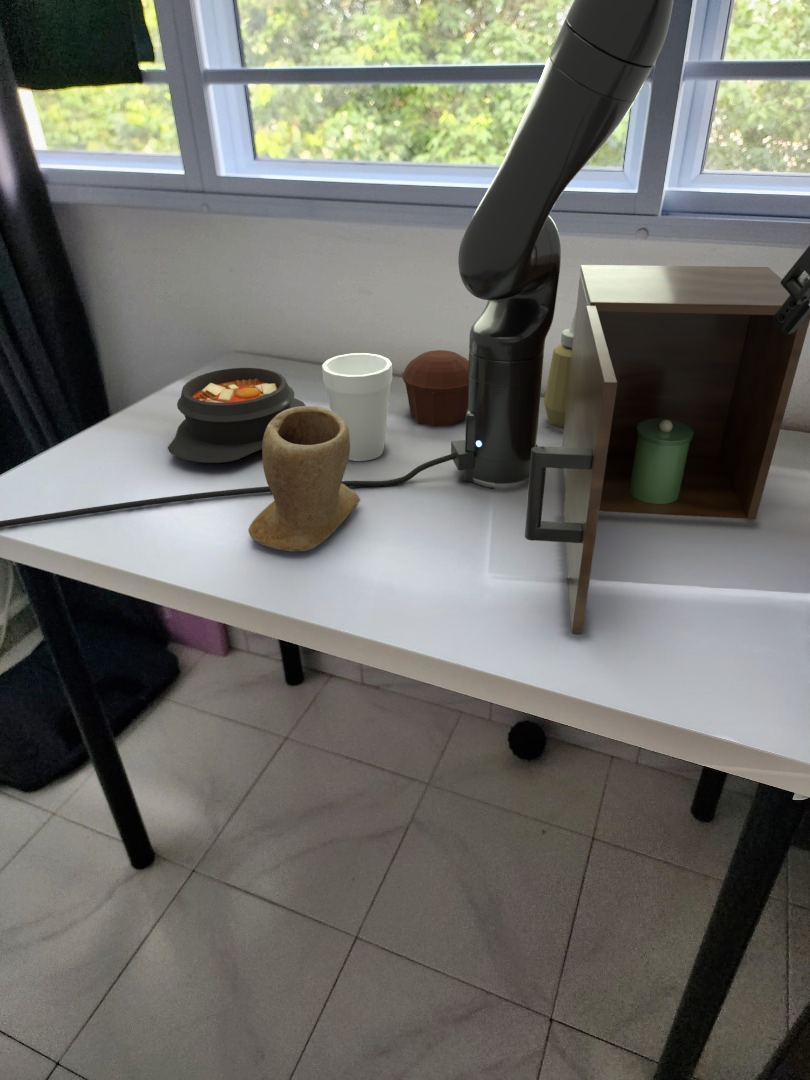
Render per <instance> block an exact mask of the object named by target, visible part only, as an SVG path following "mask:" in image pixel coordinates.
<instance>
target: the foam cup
mask: <svg viewBox="0 0 810 1080" xmlns="http://www.w3.org/2000/svg"><path fill="white" fill-rule="evenodd" d="M321 369H322V382H323V385H324V387H325V389H326V390H325V391H326V394H327V398H328V403H329V409H330V410H331V411H333V412H335V413H336V414H338V415H339V416H340V417H342V419H343V420H344V421H345V422H346V424H347V427H348V429H349V437H350V455H349V460H350V461H353V462H354V461H355V462H366V461H371V460H375V459H377V458H379V457H381V456H382V454H383V453H384V452H385V451H384V447H385V444H386V443H385V442H386V433H387V422H388V414H389V403H390V395H391V394H390V393H391V384H392V382H393V363H392V362H391V360H390V358H387V357H385V356H383V355H381V354H377V353H376V354H375V353H368V352H355V353H354V352H351V353H346V354H340V355H336V356H333V357H331V358H328V359H326V360H325V361H324V362H323V364H322V365H321ZM349 460H348V461H349Z"/></svg>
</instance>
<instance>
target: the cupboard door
mask: <svg viewBox="0 0 810 1080" xmlns="http://www.w3.org/2000/svg"><path fill="white" fill-rule="evenodd" d="M616 388H617V380H616V377H615V373H614V370H613V366H612V362H611V359H610V355H609V352H608V348H607V344H606V341H605V337H604V334H603V330H602V326H601V323H600V319H599V316H598V312H597V308H596V306H586V312H585V321H584V330H583V339H582V348H581V357H580V366H579V375H578V384H577V393H576V402H575V411H574V420H573V429H572V439H571V448H562V446H561V447H559V446H539V445H537V447H533V448H532V449H531V461H530V474H529V477H528V486H527V487H528V489H527V499H526V500H527V501H526V513H525V523H524V524H525V526H524V538H525V539H526V540H528V541H536V542H540V541H541V542H551V543H553V542H554V543H555V542H556V543H565V551H566V564H567V565H566V566H567V579H566V580H567V590H568V603H569V615H570V617H569V618H570V629H571V630H570V631H571V634H576V635H582V634H583V630H584V623H585V617H586V616H585V615H586V607H587V602H588V601H587V600H588V595H589V594H588V593H589V586H590V580H591V573H592V565H593V559H594V551H595V544H596V538H597V530H598V525H599V524H598V523H599V515H600V511H599V509H600V502H601V495H602V488H603V481H604V474H605V467H606V460H607V452H608V445H609V438H610V431H611V424H612V417H613V410H614V403H615V396H616ZM547 468H548V469H564V468H566V469H568V475H567V484H566V490H565V494H564V502H563V511H562V513H563V521H550V520H549V521H548V520H542V516H543V515H542V514H543V507H544V506H543V505H544V495H545V494H544V493H545V483H546V473H547Z"/></svg>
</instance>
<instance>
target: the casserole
mask: <svg viewBox="0 0 810 1080" xmlns="http://www.w3.org/2000/svg"><path fill="white" fill-rule="evenodd" d="M176 406H177V409H178V411H179V412H180V413H181V414H182V415H183V416H184V418H185V419H184V420H182V422H181V423H180V424H179V425H178V427H177V430H176V433H175V437H174V438H173V439H172V441H171V442H170V444H169V445H168V446H167V451H168V453H169V454H171V455H172V456H174V457H177V458H179V459H182V460H185V461H186V460H187V461H190V462H198V463H206V464H207V463H209V464H210V463H211V464H221V463H231V462H236V461H238V460H240V459H243V458H245V457H247V456H249V455H251V454H253V453H256V452H258V451H262V444H263V437H264V433H265V430H266V428H267V426H268V424H269V423H270V421H271V420H272V419H273V418H274V417H275V416H276V415H277V414H279V413H281V412H282V411H284V410H287V409H290V408H293V407H299V406H307V405H306V404H305V403H304V402H303V401H302V400H300V399H298V398H295V391H294V390H293V388H292V387H290V385H289V384H288V382H287V380H286V378H285V377H284V376H283V375H282V374H280V373H279V372H277V371H273V370H271V369H265V368H259V367H232V368H224V369H218V370H213V371H209V372H206V373H203V374H200V375H197V376H196V377H194V378H191V379H190V380H188V381H187V382H186V383H185V384H184V385H183V386H182V389H181V392H180V397H179V398H178V400H177V402H176Z"/></svg>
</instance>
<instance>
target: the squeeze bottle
mask: <svg viewBox="0 0 810 1080" xmlns="http://www.w3.org/2000/svg"><path fill="white" fill-rule="evenodd" d="M575 317H576V310H575V311H574V315H573V318H572V321H571V324H570V326H569V328H566V329H563V330H562V331H561V337H560V344H558V345H556V346H555V347H554V349H553V351H552V356H551V362H550V367H549V371H548V377H547V382H546V387H545V392H544V393H545V394H544V397H543V405H544V408H545V412H546V416H547V420H548V424H549V425H554V426H557V427H559V428H564V423H565V413H566V404H567V394H568V385H569V375H570V365H571V356H572V346H573V336H574V327H575Z"/></svg>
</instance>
